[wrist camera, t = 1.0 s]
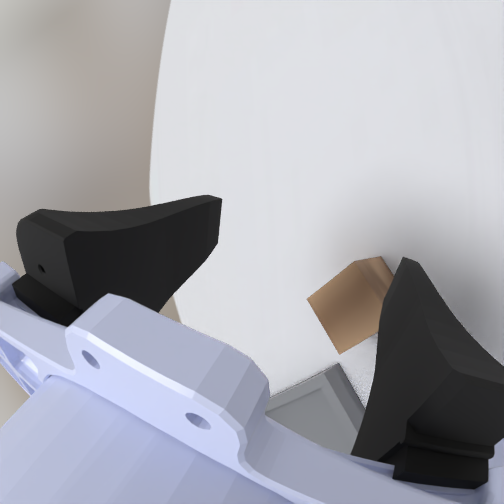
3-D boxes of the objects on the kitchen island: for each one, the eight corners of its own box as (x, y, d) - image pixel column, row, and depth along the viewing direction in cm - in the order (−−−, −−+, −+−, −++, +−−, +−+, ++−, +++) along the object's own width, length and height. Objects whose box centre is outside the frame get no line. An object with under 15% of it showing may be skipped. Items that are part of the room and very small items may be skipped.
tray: (397, 468, 21) (387, 484, 19) (306, 488, 28) (292, 500, 26) (338, 362, 26) (323, 372, 24) (256, 403, 33) (240, 411, 31)
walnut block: (412, 305, 21) (392, 322, 18) (368, 335, 24) (339, 354, 20) (381, 256, 23) (354, 261, 19) (340, 288, 26) (306, 298, 22)
